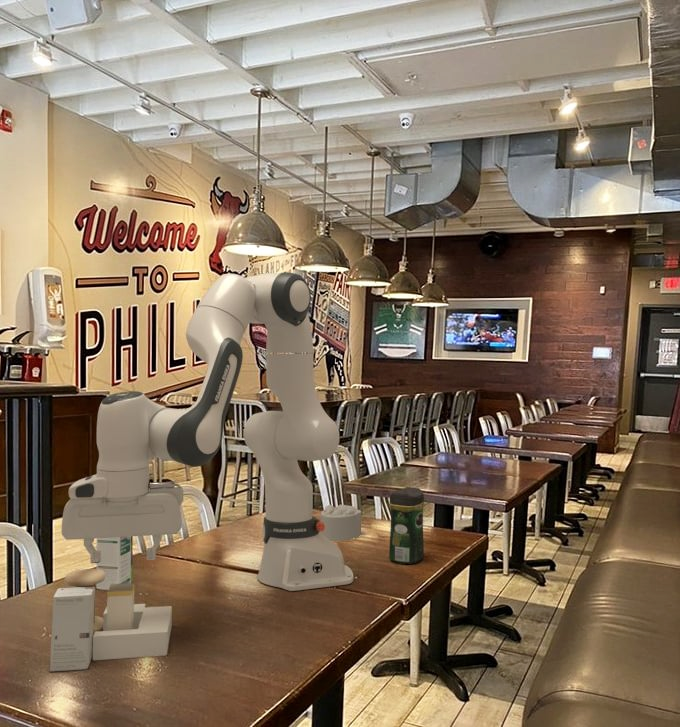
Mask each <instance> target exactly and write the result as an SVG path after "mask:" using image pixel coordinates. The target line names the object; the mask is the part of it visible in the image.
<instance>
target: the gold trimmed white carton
mask: <svg viewBox="0 0 680 727" xmlns="http://www.w3.org/2000/svg"><path fill="white" fill-rule="evenodd" d="M135 585H136V583H135V582H132V583H126V584H111V585H110V587H109V589H108V590H106V591H107V592H106V598H107V605H106V607H107V631H114V630H131V629H134V604H135V587H136V586H135Z"/></svg>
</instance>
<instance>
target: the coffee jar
mask: <svg viewBox="0 0 680 727" xmlns="http://www.w3.org/2000/svg"><path fill="white" fill-rule="evenodd" d="M424 496H425V495H424V492H423V491H422V490H421V488H419V487H413V486H412V487H411V486H405V487H404V488H401V489H399V490H395V491H393V492H391V493H390V494H389V510H390V534H389V536H390V537H389V547H388V548H389V549H388V550H389V551H388V552H389V553H388V556H389V557H388V559H389V560H390V561H392V562H395V563H396V564H401V565H404V564H409V565H412V564H415V563H418V562H419V561H420V560H422V559H423V558H424V555H425V552H424V551H425V550H424V549H425V548H424V547H425V546H424V545H425V544H424V506H425V500H424V498H425V497H424Z"/></svg>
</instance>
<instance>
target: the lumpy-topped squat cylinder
mask: <svg viewBox="0 0 680 727" xmlns="http://www.w3.org/2000/svg"><path fill="white" fill-rule="evenodd" d="M319 520H320V521H321V522H323V523H324V525H325V529H323V530H324V531H322V532H320V533H321V534H323V535H324V536H325V537H326V538H328V539H329V540H330V541H341V542H344V541H343V540H349V541H351V540H350V539H353V538H355V539H357V538H356V537H358V538H360V537H361V536H360V535H362V511H361V510H360V509H357V508H356V507H355V506H353V505H346V504H339V505H337V506H333V505H332V504H328V505H326V506H325V508H324V509H323V510H322V511H321V512H320V519H319ZM359 536H360V537H359ZM353 540H354V539H353Z"/></svg>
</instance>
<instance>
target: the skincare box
mask: <svg viewBox="0 0 680 727" xmlns="http://www.w3.org/2000/svg"><path fill="white" fill-rule="evenodd" d="M94 598H95V599H96V586H95V587H75V586H72V587H60V588H57V589H56V591H55V593H54V595H53V598H52V615H51V637H50V659H49V662H50V663H49V672H61V671H63V672H66V671H78V670H87V669H89V666H90V663H91V662H92V659H93V636H94V634H93V621H94Z"/></svg>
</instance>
